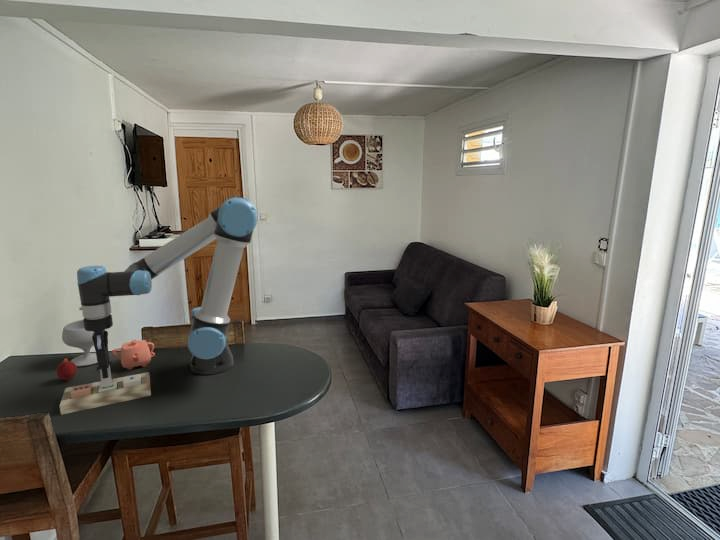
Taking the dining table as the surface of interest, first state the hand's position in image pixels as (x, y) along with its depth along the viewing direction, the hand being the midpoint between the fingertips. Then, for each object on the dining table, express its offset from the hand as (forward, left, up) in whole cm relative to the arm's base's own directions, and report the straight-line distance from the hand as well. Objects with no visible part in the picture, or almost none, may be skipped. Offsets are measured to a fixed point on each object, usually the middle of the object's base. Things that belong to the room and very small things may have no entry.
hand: (107, 385), depth 132 cm
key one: (-6, -4, -2) cm, 7 cm away
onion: (+21, -10, -4) cm, 24 cm away
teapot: (+4, -22, -4) cm, 23 cm away
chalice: (+25, -26, -4) cm, 36 cm away
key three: (+6, +3, -2) cm, 7 cm away
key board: (0, 0, -4) cm, 4 cm away
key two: (0, 0, -3) cm, 3 cm away
